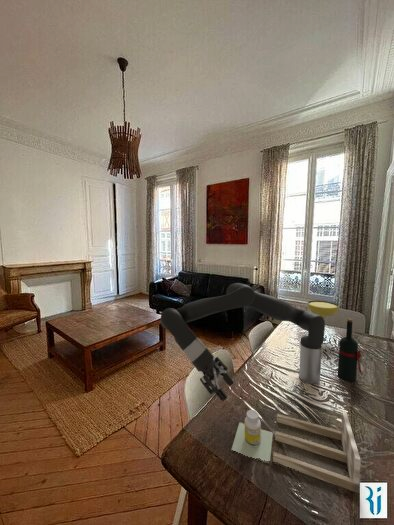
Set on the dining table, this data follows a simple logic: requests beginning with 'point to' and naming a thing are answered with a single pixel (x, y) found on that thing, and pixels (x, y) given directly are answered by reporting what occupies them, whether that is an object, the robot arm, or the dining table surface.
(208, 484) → the dining table surface
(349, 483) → the lane rack
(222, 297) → the robot arm
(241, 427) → the mat
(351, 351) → the wine bottle
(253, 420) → the supplement bottle
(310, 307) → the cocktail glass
